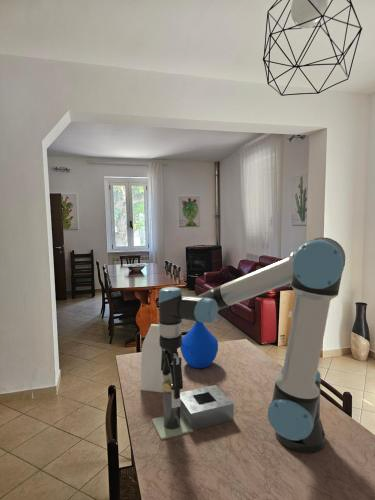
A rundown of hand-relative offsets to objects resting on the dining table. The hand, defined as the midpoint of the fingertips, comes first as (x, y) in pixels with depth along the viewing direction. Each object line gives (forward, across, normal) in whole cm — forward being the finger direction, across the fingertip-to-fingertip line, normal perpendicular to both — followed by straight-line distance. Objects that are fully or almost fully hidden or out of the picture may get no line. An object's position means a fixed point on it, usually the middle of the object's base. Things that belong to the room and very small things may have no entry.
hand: (171, 399), depth 111 cm
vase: (+10, +41, -28) cm, 51 cm away
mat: (+9, 0, 0) cm, 9 cm away
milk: (+10, +29, -4) cm, 31 cm away
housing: (+9, +2, -13) cm, 16 cm away
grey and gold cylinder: (+9, 0, 0) cm, 9 cm away
